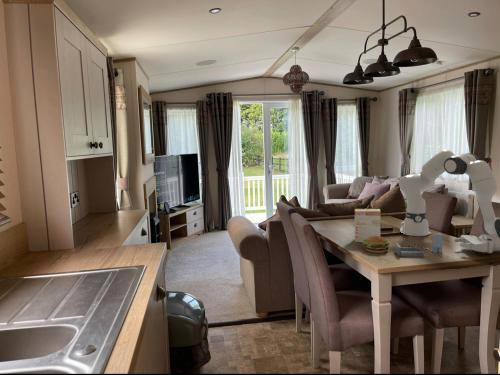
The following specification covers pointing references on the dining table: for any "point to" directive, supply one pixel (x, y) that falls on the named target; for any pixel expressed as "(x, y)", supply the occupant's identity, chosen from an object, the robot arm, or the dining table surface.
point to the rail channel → (408, 251)
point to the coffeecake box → (366, 223)
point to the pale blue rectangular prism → (437, 242)
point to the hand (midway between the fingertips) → (457, 242)
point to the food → (376, 244)
